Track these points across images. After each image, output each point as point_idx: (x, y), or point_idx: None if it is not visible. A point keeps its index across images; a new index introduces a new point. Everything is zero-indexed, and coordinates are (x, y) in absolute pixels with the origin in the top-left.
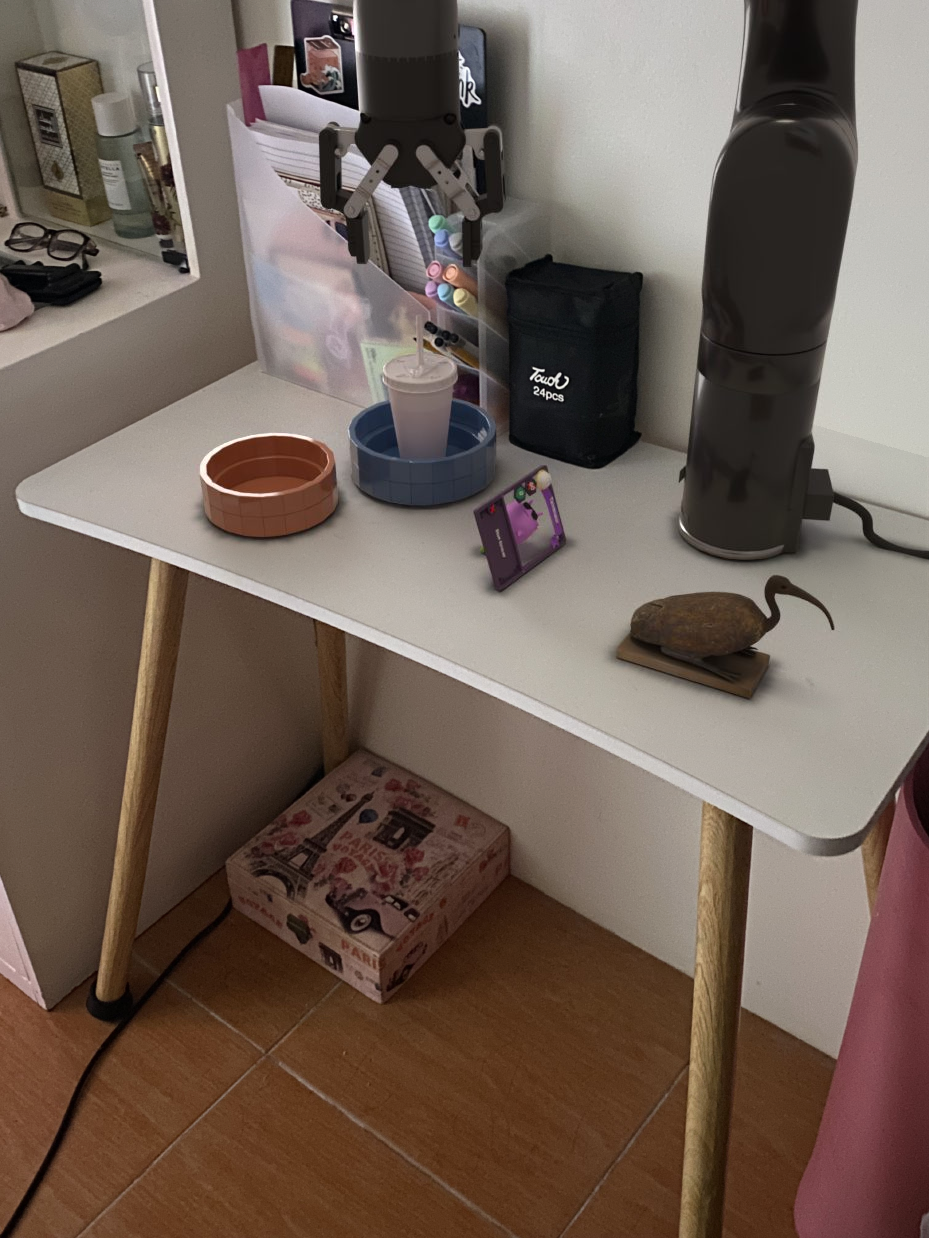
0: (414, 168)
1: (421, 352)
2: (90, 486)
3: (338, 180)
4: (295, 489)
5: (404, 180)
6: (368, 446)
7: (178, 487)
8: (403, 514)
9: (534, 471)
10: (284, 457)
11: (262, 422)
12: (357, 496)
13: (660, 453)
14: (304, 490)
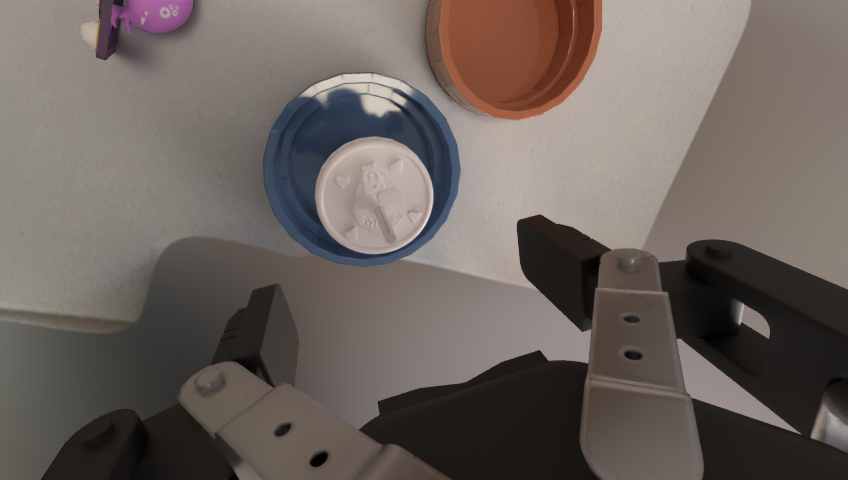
0: (468, 447)
1: (378, 213)
2: (696, 18)
3: (732, 356)
4: None
5: (497, 389)
6: (433, 166)
7: (609, 45)
8: (345, 61)
9: (101, 26)
10: (516, 103)
11: (568, 213)
12: (414, 87)
13: (109, 305)
14: None
